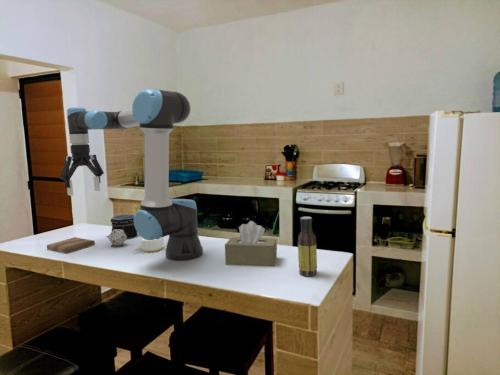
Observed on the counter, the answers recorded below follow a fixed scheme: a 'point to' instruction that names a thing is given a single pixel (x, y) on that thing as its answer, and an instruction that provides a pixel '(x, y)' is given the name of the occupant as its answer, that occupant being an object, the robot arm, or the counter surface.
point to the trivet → (70, 245)
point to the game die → (117, 237)
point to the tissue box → (251, 247)
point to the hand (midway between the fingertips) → (84, 193)
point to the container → (125, 224)
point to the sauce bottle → (307, 248)
